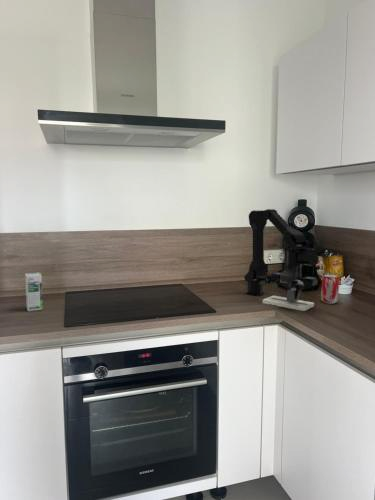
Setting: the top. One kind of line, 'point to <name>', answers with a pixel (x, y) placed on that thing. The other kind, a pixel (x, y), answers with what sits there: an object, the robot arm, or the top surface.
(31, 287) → the syrup box
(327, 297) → the soda can
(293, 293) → the fader knob
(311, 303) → the fader panel
